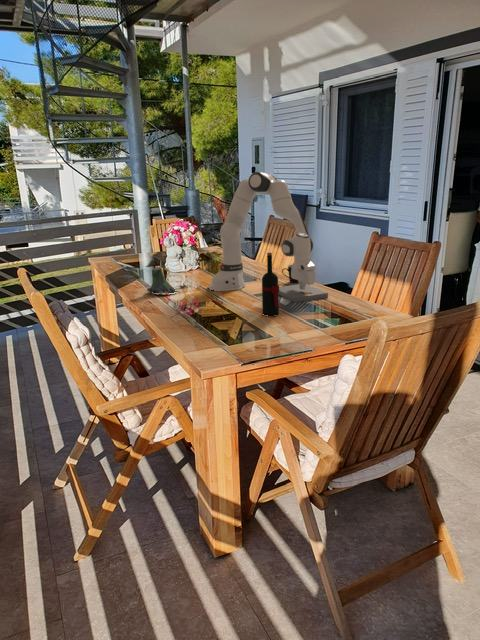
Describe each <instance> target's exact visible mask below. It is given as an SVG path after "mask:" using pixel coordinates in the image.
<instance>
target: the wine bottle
mask: <svg viewBox="0 0 480 640" xmlns="http://www.w3.org/2000/svg"><path fill="white" fill-rule="evenodd" d="M266 255H267V256H266V263H267V266H266V267H267V272H266V273H265V274H264V275H263V276H262V278H261V293H262V295H261V297H262V298H261V299H262V302H261V305H262V309H261V310H262V315H263V314H264V315H268V316H273V317H275V316H274V315H277V316H278V315H280V313H279V312H280V311H279V310H280V305H279V303H280V302H279V294H278V292H279V287H280V284H279V277H278V276H277V274H276V273H275V272H273V253H272V252H266ZM264 315H263V316H264Z"/></svg>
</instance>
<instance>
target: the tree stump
mask: <svg viewBox="0 0 480 640" xmlns="http://www.w3.org/2000/svg"><path fill="white" fill-rule="evenodd" d="M151 276H152V284H151V286H150V288H146V291H147V292H149V293H151V292H153V293H174V292H178V291H175V289H174V288H173V286H172V285H171V284H170V283H169V282H168V281H167V280H166V278H165V274H164V272H163V268H162V266H156V267H154V268H152V269H151Z"/></svg>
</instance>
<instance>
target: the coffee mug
mask: <svg viewBox="0 0 480 640" xmlns="http://www.w3.org/2000/svg"><path fill="white" fill-rule="evenodd" d="M292 266H293V264H289V265H287V268H286V267H285V268H282V269H281V273H282V275H283V276H284V277H287V278H288V279H289V283H291V284H299V282H298V280H296V279H293V278H292V277H291V268H292ZM284 270H286V271H287V272H288V275H286V274H285V273H284V272H283V271H284Z"/></svg>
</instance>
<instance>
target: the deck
mask: <svg viewBox="0 0 480 640" xmlns="http://www.w3.org/2000/svg"><path fill="white" fill-rule="evenodd" d="M306 291H308V292H310V294H306V295H304V293H305V292H306ZM278 296H281V297H282V298H284V299H287V300H289V301H291V302H292V303H301V302H307V301H312V300H314V301H315V300H320V299H325V298H327V299H328V297H329V293H328V292H326V291H324V290H323V289H320V288H318V287H314V286H312V285H308V284H306V286H305V290H302V289H300V285H299V283H297V284H291V285H285V286H279V292H278Z"/></svg>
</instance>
